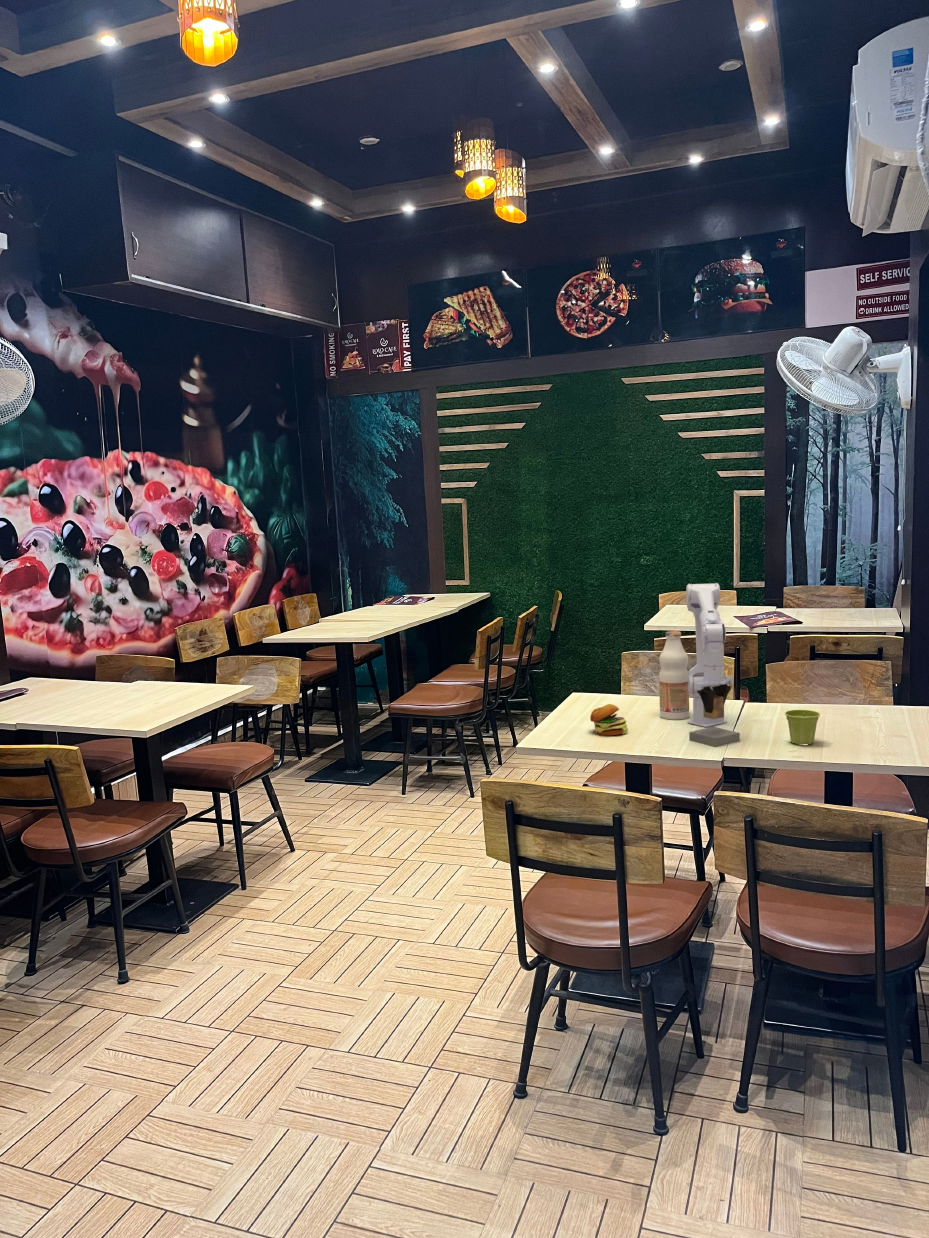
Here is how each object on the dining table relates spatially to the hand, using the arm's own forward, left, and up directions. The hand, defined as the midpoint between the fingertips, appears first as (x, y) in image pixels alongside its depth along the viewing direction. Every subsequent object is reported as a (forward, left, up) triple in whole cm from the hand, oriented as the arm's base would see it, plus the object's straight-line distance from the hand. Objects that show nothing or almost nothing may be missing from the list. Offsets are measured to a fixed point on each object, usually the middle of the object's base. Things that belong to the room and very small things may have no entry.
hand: (714, 711), depth 260 cm
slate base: (0, 0, -9) cm, 9 cm away
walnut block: (0, 0, -2) cm, 2 cm away
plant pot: (-16, +18, -9) cm, 26 cm away
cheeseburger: (+16, -28, -9) cm, 33 cm away
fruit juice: (-14, -29, -9) cm, 33 cm away
